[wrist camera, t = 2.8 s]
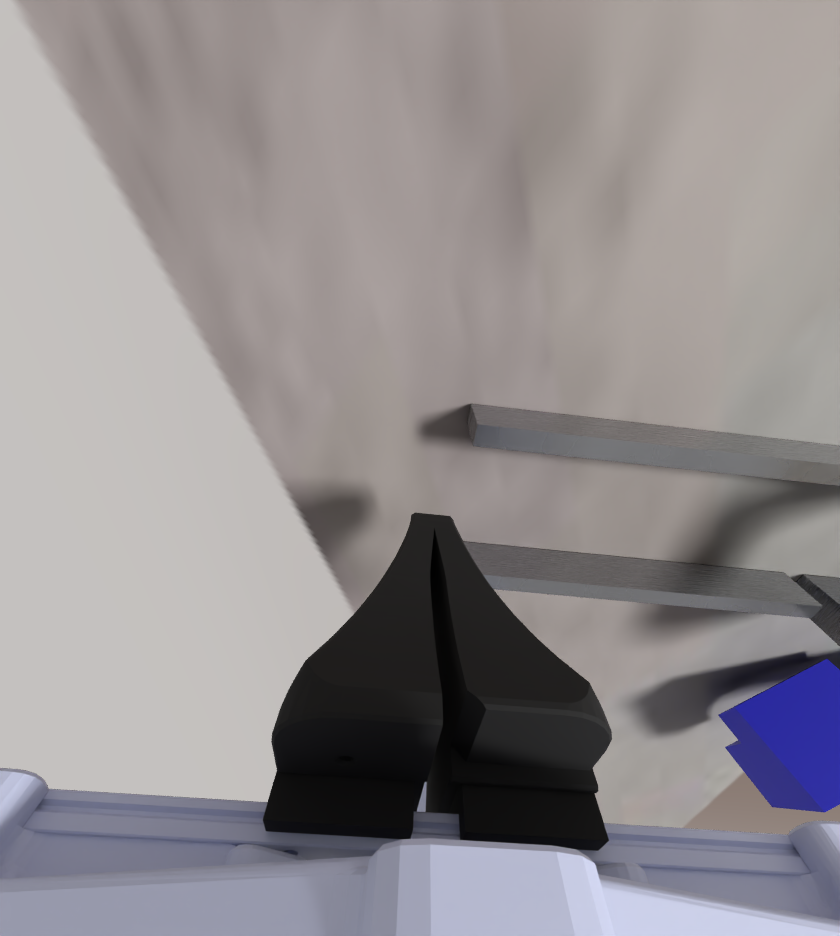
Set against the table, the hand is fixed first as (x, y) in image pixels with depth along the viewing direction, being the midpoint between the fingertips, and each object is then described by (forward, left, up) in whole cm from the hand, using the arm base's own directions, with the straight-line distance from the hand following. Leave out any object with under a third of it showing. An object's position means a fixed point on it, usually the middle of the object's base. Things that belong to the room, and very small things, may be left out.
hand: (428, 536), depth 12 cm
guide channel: (0, -10, -3) cm, 10 cm away
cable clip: (-9, -24, -1) cm, 26 cm away
